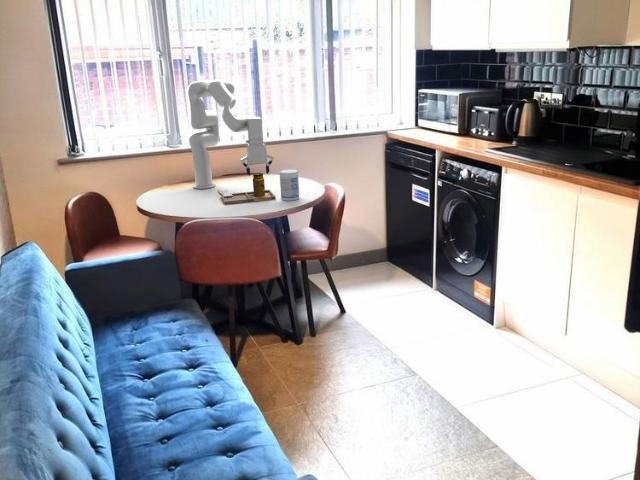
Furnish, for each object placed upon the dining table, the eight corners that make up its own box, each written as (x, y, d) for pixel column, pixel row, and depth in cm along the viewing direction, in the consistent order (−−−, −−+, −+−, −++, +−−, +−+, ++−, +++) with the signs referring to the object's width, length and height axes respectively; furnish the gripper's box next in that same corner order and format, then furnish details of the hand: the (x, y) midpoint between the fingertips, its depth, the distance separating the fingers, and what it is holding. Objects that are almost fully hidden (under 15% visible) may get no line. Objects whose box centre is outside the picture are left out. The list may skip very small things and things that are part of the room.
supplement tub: (295, 201, 301) (294, 173, 297) (278, 201, 304) (276, 173, 299) (302, 197, 310) (300, 169, 305) (285, 196, 313) (283, 169, 308)
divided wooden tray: (221, 197, 316) (221, 194, 315) (269, 192, 322) (269, 189, 322) (224, 204, 301) (224, 202, 300) (275, 199, 307) (275, 196, 307)
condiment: (268, 195, 312) (266, 173, 308) (253, 198, 308) (252, 176, 304) (261, 193, 318) (260, 171, 314) (247, 195, 314) (245, 173, 310)
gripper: (240, 144, 298) (242, 177, 304) (273, 141, 302) (275, 174, 308) (238, 141, 305) (240, 174, 311) (271, 139, 309) (273, 171, 315)
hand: (258, 174), depth 309 cm, fingers open, 9 cm apart
